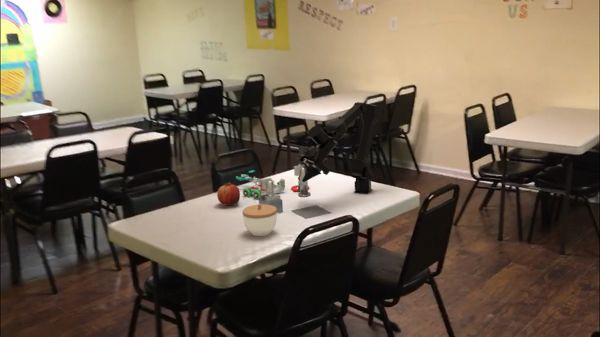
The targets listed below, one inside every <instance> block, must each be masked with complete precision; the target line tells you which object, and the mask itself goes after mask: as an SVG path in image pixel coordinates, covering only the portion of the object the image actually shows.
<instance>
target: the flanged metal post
mask: <svg viewBox="0 0 600 337" xmlns="http://www.w3.org/2000/svg"><path fill="white" fill-rule="evenodd" d="M293 170H294V176H295V177H297V176H298V177H299V176H300V192H297V197H299V198H309V197H311V191H309V189H308V186H309V183H308V182H309V180H307V181H305V182H303V181H302V179H303V178H304V176H305V174H306V173H307V167H305V165H301V164H300V165H299V164H298V165H295V166H293Z"/></svg>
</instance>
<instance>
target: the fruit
mask: <svg viewBox="0 0 600 337" xmlns="http://www.w3.org/2000/svg"><path fill="white" fill-rule="evenodd" d="M216 194H217V199H218V200H217V201H218V202H219V203H220V204H222V205H224V206H228V207H229V206H235V205H237V204H238V203H239V201H240V197H241V192H240V189H239V187H238V186H237V185H235V184H234V183H233V184H232V182H231V181H230V182H226V183H224V185H222V186H220V187H219V188H218V189H217V193H216Z"/></svg>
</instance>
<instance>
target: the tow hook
mask: <svg viewBox="0 0 600 337" xmlns="http://www.w3.org/2000/svg"><path fill="white" fill-rule="evenodd" d="M298 165H301V163H298ZM297 187H298V188H297ZM290 190H291V191H292V192H293V193H300V180H298V184H297V185H293V186H291V187H290ZM308 190H310V186H309V185H308Z"/></svg>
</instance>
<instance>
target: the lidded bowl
mask: <svg viewBox="0 0 600 337" xmlns="http://www.w3.org/2000/svg"><path fill="white" fill-rule="evenodd" d="M241 213H242V218H243V224H244V227H245V228H246V230H247V231H248V232H250V234H251V235H252V236H255V237H264V236H268V235H270V234H271V233H272V231H274V229H275V227H276V225H277V216H278V215H277V208H276V207H274V206H272V205H265V204H259V203H258V204H253V205H250V206H245V207H244V208H243V209H242V212H241Z"/></svg>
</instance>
